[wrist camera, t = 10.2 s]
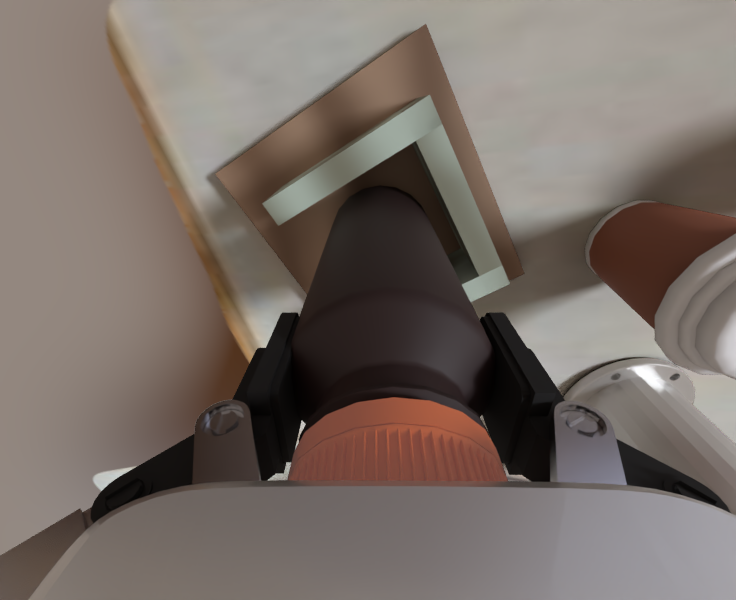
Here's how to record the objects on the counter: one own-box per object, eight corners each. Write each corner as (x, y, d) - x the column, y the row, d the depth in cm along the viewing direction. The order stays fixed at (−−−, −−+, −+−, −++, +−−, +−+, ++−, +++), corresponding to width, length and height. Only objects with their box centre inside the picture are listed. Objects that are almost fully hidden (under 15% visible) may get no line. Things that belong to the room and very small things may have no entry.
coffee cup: (681, 153, 23) (933, 189, 13) (701, 256, 27) (910, 350, 16) (550, 225, 26) (673, 303, 15) (585, 310, 29) (703, 420, 19)
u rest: (423, 27, 20) (441, -2, 15) (519, 268, 28) (554, 305, 22) (220, 171, 24) (178, 188, 19) (352, 346, 32) (349, 393, 26)
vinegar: (367, 162, 21) (338, 390, 4) (449, 220, 23) (678, 556, 6) (315, 246, 24) (165, 594, 7) (392, 293, 26) (429, 664, 9)
